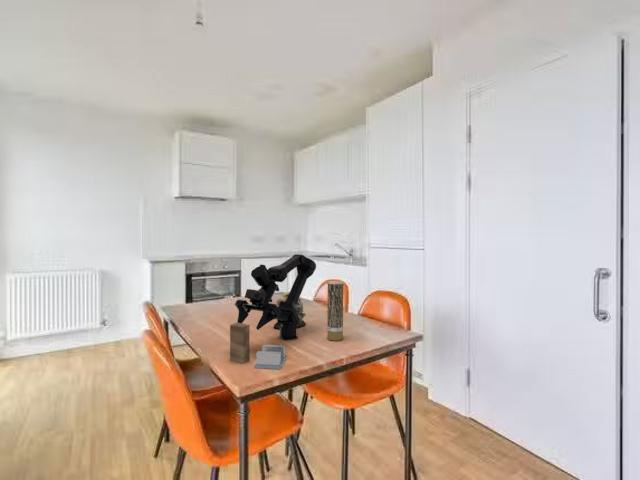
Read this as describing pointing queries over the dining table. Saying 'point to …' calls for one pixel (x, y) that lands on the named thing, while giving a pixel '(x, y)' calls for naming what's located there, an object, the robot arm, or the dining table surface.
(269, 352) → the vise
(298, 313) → the owl figurine
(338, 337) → the paper tube
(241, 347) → the walnut slab
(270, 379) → the dining table surface
